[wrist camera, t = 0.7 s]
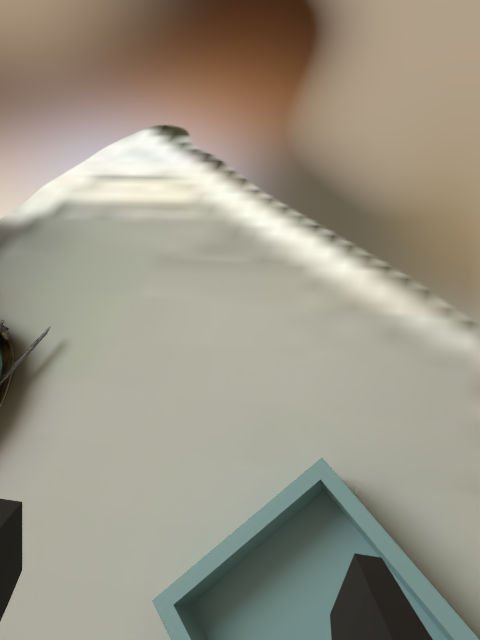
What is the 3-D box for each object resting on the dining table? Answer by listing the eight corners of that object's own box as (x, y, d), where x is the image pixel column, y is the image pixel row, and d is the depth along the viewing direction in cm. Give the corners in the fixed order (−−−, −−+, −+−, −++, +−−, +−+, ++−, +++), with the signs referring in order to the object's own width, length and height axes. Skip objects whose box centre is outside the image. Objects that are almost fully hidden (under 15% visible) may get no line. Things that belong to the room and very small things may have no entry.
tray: (491, 665, 20) (507, 672, 18) (303, 857, 19) (293, 893, 16) (326, 472, 27) (321, 457, 24) (173, 602, 25) (152, 600, 22)
